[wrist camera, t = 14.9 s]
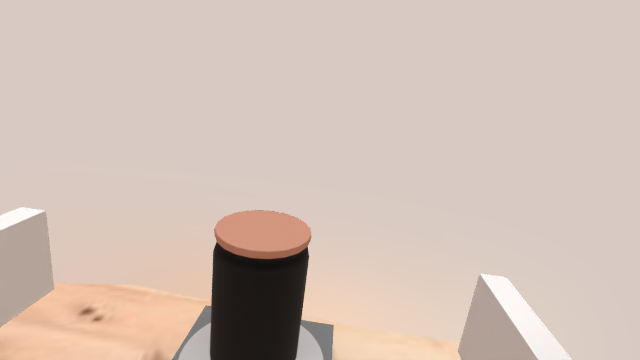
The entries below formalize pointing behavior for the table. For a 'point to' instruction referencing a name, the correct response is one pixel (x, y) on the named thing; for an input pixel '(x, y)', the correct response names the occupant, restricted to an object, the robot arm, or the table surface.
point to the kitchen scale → (310, 352)
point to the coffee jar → (258, 286)
